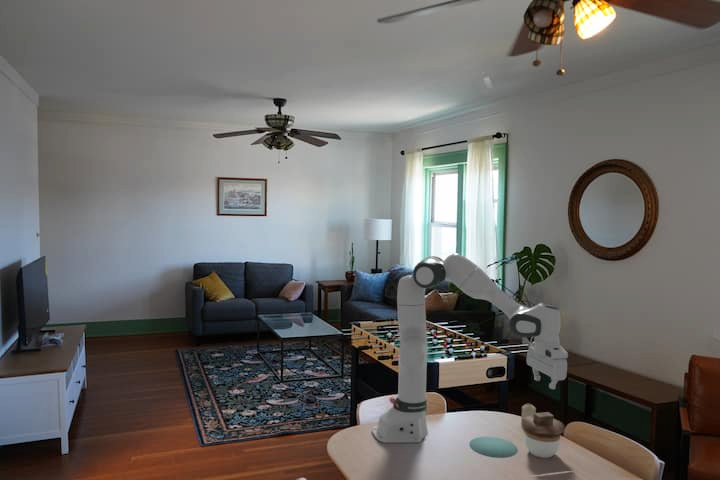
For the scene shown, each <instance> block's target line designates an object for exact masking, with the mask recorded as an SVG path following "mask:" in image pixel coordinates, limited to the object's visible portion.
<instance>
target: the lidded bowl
mask: <svg viewBox="0 0 720 480" xmlns="http://www.w3.org/2000/svg"><path fill="white" fill-rule="evenodd" d="M561 434H562V433H561ZM561 434H557V435H545V434H539V433H535V432H532V431H530V430H528V429H526V428H524V440H525V445H526V448H527V450H528V452H530V453H531V454H532V455H533V456H534V457H537V458H542V459H549V458H551V457H553V456H555V455H556V453H557V452H558V450H559V446H560V443H561Z"/></svg>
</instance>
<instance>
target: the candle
mask: <svg viewBox="0 0 720 480" xmlns="http://www.w3.org/2000/svg"><path fill="white" fill-rule="evenodd" d="M536 411H537V408H536V407H535V406H534V405H533V404H531V403H525V404H524V405H522V406H521V422H520V426H521V428H523V429H525V427H524V426H523V425H522V419H523V418H525V417H527V416H534V413H537V412H536Z"/></svg>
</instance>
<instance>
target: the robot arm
mask: <svg viewBox="0 0 720 480" xmlns="http://www.w3.org/2000/svg"><path fill="white" fill-rule="evenodd" d="M412 270H413V271H412V274H407V275H404V276H401V278H399V281H398V283H397V292H396V293H397V294H396V303H397V304H396V305H397V323H398V332H399V333H398V334H399V351H398V386H397V389H398V391H397V397H396V398H394V397H393V396H391V397H390V398H389V402H390V403H392V406H391V408H389V409H388V410H386V411H385V412H384V413H383V414H381V415H380V416H379V419H378V424H377V425H375V426H373V427H372V429H371V430H372V431H371V432H372V433H371V434H372V435H373V436H374V438H375V439H377V440H378V441H380V442H381V443H384V444H385V443H386V444H388V443H389V444H390V443H391V444H392V443H395V444H397V443H398V444H401V443H402V444H403V443H407V444H408V443H421V442H423V439H425V438H426V437H427V436H428V435H429V431H428V426H427V415H426V413H427V407H428V405H427V398H426V397H427V396H426V395H427V394H426V393H427V372H428V371H427V370H428V369H427V366H428V335H427V334H428V333H427V313H426V312H427V311H426V297H425V296H426V290H427V289H432V288H434V287H436V286H438V285H439V284H441V283H442V282H444V281H448V282H451V283H452V284H454V286H455V287H456V288H458V289H459V290H461V291H462V292H463V293H464V294H466V295H467V296H469V297H471V298H472V299H476V300H485V301H487V302H490V303H491V304H493V305H494V306H495V307H497V309H499V310H500V311H502V313H504V314H505V315H506V316H507V317H508V318H509V323H508V326H509V330H510V332H511V333H512V334H513V335H514V336H515V337H518V338H533V340H534V341H531V343H530V344H529V346H528V350H527V353H526V365H527V366H530V367H531V368H532V373H533V379H534V380H535V381H536V382H539V381H540V380H541V375H540V372H541V373H542V374H545V375H547V376H548V377H550V380H551V382H549V383H548V389H551V390H556V386H557V383H558V381H564V380H565V379H566V378H567V374H568V373H567V372H568V361H567V359H568V357H569V352H568V351H566V350H565V348H564V347H563V346H562V345H561V343H560V332H561V325H562V322H561V321H562V320H561V319H562V318H561V312H560V309H559V308H558V307H557V306H556V305H553V304H551V303H547V302H539V303H538V304H537V305H534V306H532V307H531V306H529V305H526V304H523V303H519V302H518V301H516V300H515V299H514V298H512V297H511V296H509V294H507V293H506V292H505V291H504V290H503V289H501V288H500V287H498V285H497V284H496V283H495V282H494V280H492V279H491V278H490V277H489V275H488V274H487V273H486V272H485V271H484V270H483V269H482V268H480V266H478V265H477V264H476V263H474V262H473V261H471V260H470V259H469V258H467V257H465V256H464V255H462V254H460V253H456V252H455V253H452V254H450V255H448V256H447V257H446V258H445V259H444V260H443V259H442V258H440V257H438V256H436V255H435V256H428V257H426V258H423V259H421V261H420V262H418V263H416V265H415V266H414V268H413V269H412Z"/></svg>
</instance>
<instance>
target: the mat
mask: <svg viewBox="0 0 720 480" xmlns="http://www.w3.org/2000/svg"><path fill="white" fill-rule="evenodd" d="M469 448H470V449H471V450H472V451H473V452H476V453H478V454H479V455H482V456H486V457H489V458H496V459H497V458H498V459H503V458H504V459H505V458H511V457H513V456H516V454H517V453H518V451H519V449H518V447H517V446H516V444H514V443H513V442H512V441H510V440H507V439H504V438H500V437H495V436H479V437H475V438H473V439H471V440H470V441H469Z"/></svg>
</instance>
